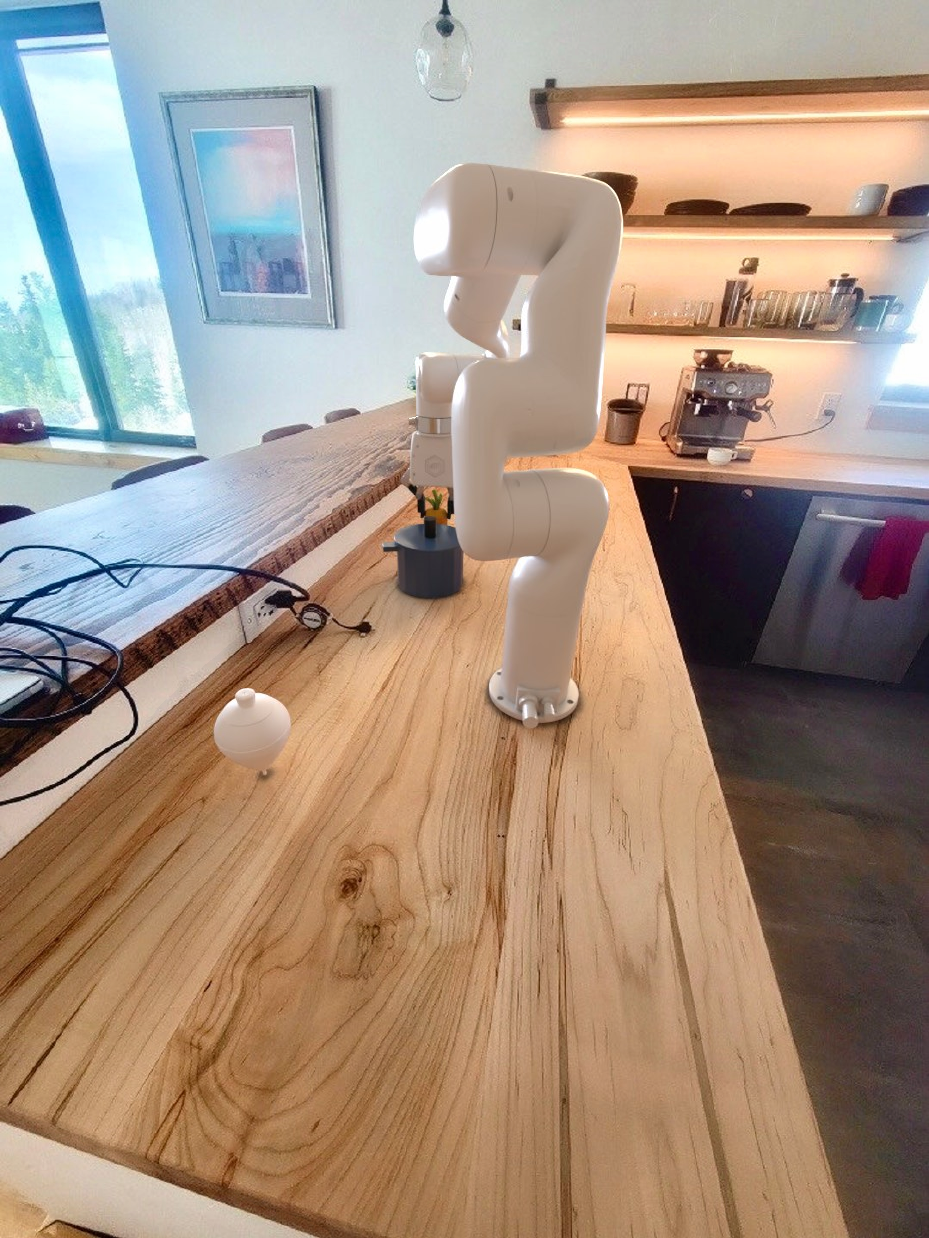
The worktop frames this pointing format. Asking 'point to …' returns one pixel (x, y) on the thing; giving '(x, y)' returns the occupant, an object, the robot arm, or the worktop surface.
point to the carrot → (437, 509)
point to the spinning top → (252, 729)
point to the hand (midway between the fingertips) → (436, 515)
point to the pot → (428, 571)
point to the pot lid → (427, 537)
